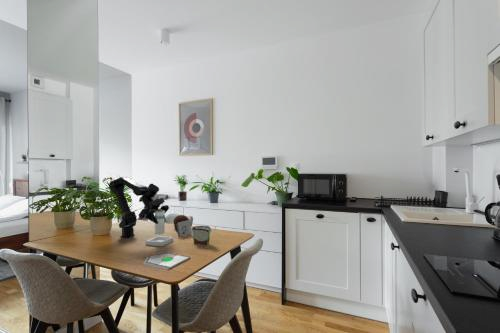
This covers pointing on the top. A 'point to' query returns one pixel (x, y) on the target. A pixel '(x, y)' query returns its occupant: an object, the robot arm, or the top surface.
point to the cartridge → (160, 222)
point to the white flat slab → (165, 260)
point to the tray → (159, 241)
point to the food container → (201, 235)
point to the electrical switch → (184, 228)
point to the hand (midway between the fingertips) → (161, 222)
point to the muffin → (179, 220)
